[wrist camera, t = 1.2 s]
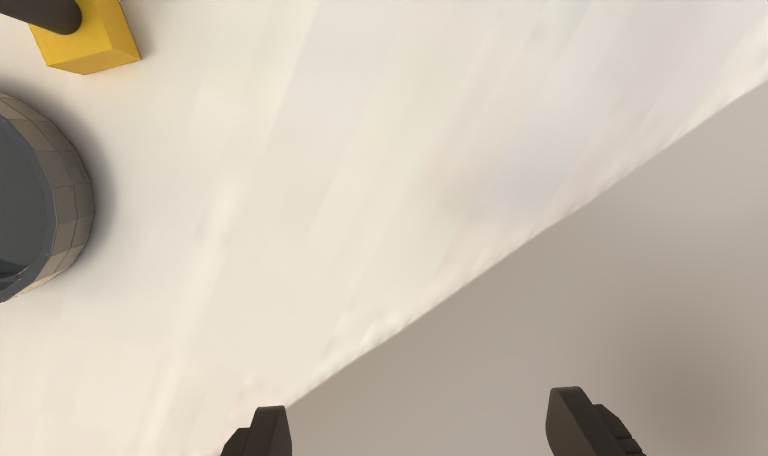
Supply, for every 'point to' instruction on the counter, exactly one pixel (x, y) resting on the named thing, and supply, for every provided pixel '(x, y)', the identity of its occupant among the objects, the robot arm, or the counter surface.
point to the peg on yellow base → (77, 32)
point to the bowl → (38, 200)
